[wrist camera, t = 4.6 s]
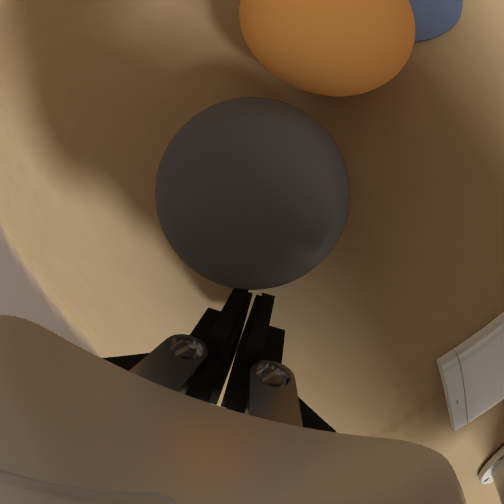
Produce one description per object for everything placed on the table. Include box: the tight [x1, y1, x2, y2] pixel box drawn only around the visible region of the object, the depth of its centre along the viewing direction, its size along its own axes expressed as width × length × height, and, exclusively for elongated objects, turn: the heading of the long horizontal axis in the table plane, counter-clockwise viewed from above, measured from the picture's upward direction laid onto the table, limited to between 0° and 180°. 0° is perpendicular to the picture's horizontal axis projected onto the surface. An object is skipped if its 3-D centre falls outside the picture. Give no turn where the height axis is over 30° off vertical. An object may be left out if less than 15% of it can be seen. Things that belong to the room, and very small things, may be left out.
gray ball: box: [155, 97, 350, 290], centre depth 9 cm, size 6×6×6 cm
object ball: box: [239, 0, 415, 96], centre depth 7 cm, size 6×6×6 cm
